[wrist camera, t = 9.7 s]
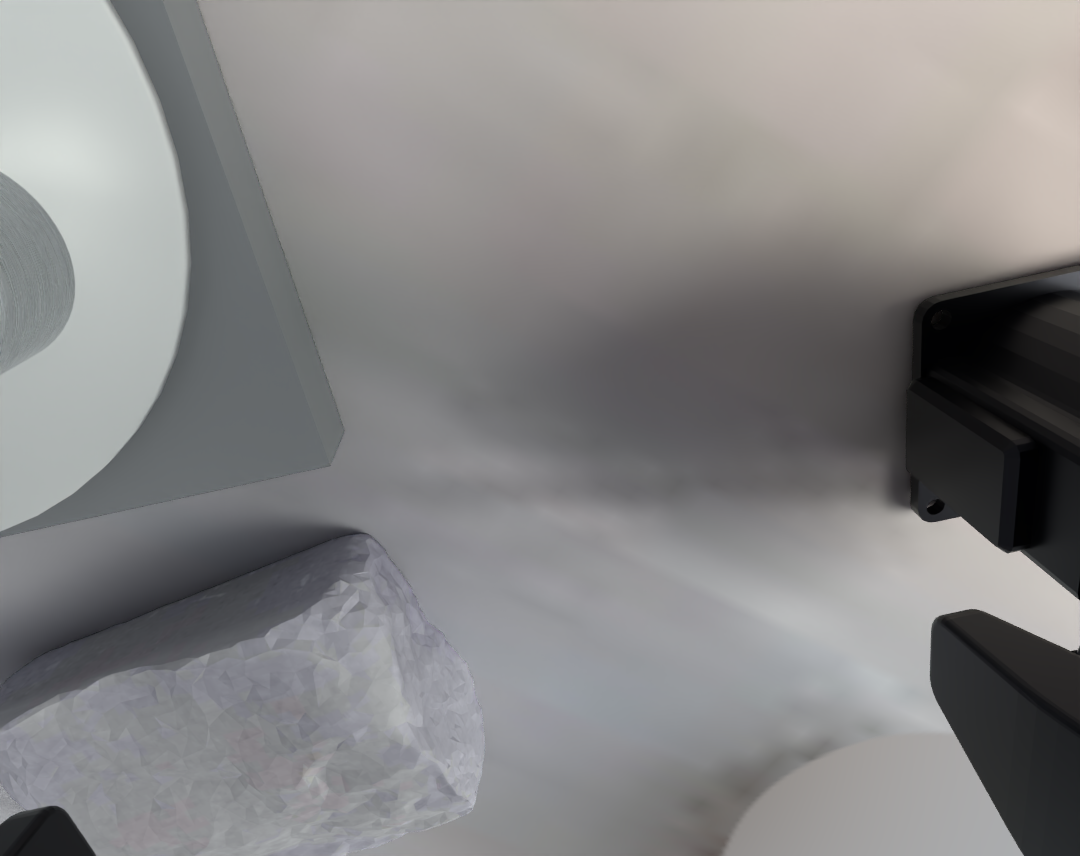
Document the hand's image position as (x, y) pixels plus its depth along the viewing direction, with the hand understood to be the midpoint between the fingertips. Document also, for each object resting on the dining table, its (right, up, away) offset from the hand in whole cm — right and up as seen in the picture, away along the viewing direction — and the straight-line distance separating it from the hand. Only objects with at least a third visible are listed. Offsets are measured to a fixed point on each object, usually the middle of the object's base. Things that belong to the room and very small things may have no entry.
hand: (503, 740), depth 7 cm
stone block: (-8, -5, +15) cm, 18 cm away
